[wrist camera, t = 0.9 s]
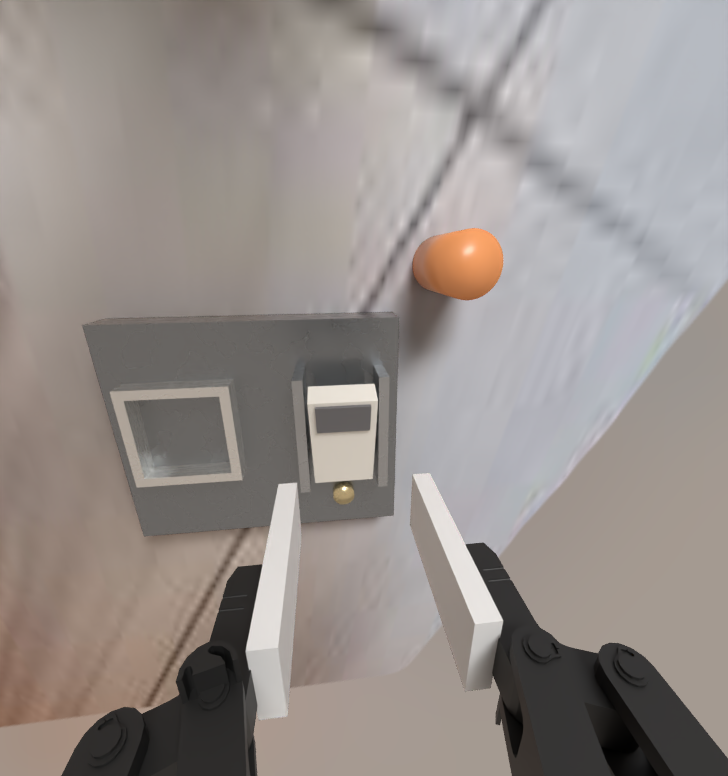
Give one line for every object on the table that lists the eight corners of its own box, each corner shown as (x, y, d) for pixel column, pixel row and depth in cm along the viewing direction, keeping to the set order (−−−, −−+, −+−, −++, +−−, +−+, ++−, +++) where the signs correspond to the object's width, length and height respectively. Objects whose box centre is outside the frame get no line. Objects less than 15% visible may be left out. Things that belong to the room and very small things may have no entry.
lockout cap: (413, 235, 29) (440, 228, 22) (466, 235, 29) (507, 228, 23) (411, 291, 31) (435, 300, 24) (461, 291, 31) (498, 299, 25)
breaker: (307, 386, 26) (307, 406, 24) (374, 383, 26) (378, 403, 25) (315, 464, 31) (315, 485, 30) (369, 461, 32) (373, 481, 30)
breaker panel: (105, 318, 29) (50, 333, 23) (392, 311, 31) (408, 324, 25) (158, 514, 36) (126, 564, 30) (388, 496, 38) (400, 539, 32)
